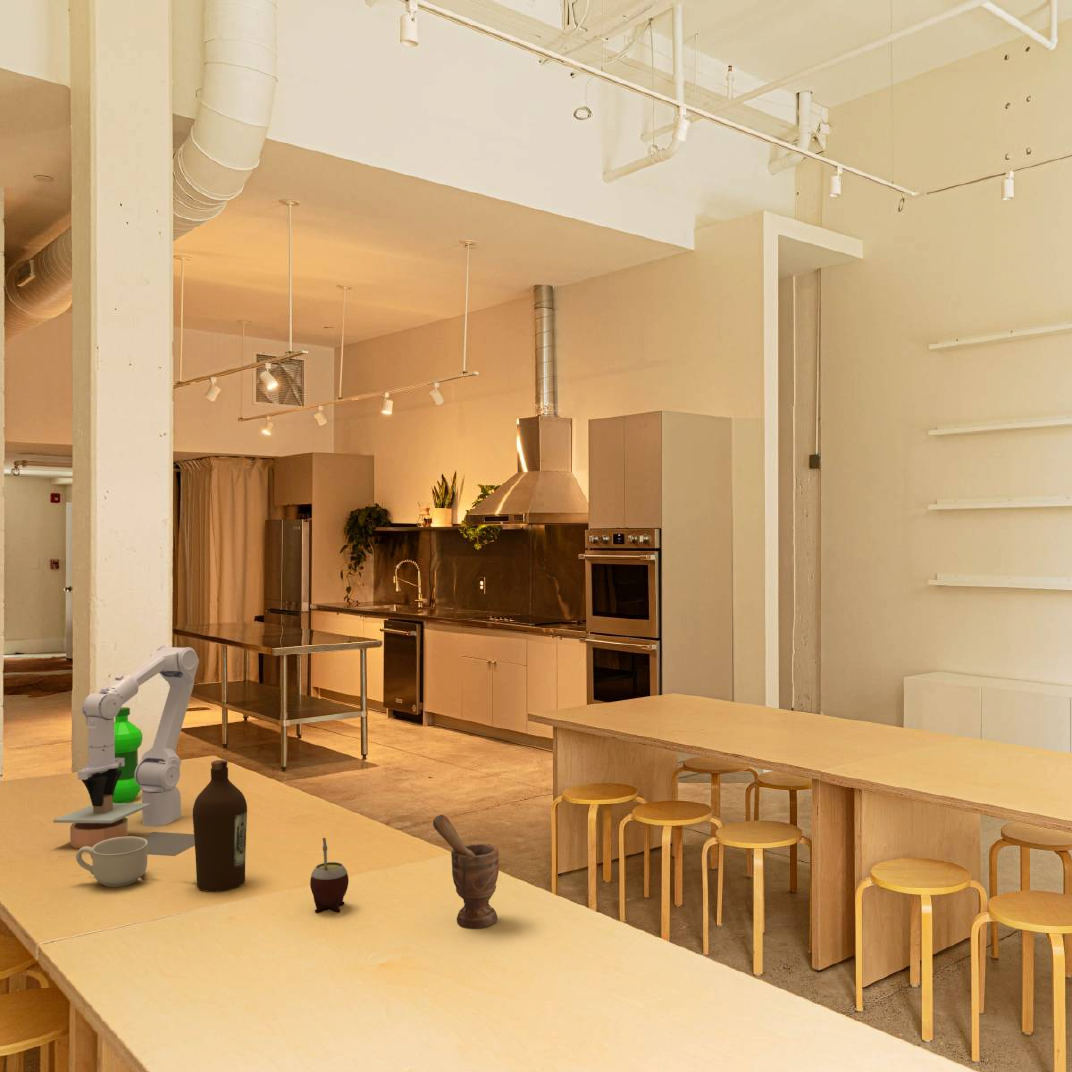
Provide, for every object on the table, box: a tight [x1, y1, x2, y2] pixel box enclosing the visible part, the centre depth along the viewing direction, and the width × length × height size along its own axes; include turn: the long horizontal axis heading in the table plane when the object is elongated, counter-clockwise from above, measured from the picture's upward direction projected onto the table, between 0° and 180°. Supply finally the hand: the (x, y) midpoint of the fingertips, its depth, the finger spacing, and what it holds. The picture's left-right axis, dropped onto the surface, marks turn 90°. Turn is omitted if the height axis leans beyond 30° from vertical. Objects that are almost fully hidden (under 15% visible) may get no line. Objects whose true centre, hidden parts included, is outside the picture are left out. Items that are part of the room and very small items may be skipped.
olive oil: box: [192, 759, 248, 893], centre depth 210 cm, size 11×11×25 cm
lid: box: [52, 795, 151, 824], centre depth 239 cm, size 15×15×4 cm
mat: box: [140, 831, 195, 857], centre depth 237 cm, size 16×16×1 cm
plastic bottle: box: [113, 706, 143, 803], centre depth 280 cm, size 10×10×25 cm
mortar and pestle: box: [432, 814, 500, 929], centre depth 187 cm, size 12×9×20 cm
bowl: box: [69, 817, 129, 849], centre depth 240 cm, size 12×12×5 cm
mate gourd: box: [309, 837, 350, 914], centre depth 195 cm, size 8×8×15 cm
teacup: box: [75, 835, 148, 888], centre depth 213 cm, size 14×11×8 cm
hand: (102, 803), depth 239 cm, fingers closed on lid, 3 cm apart
